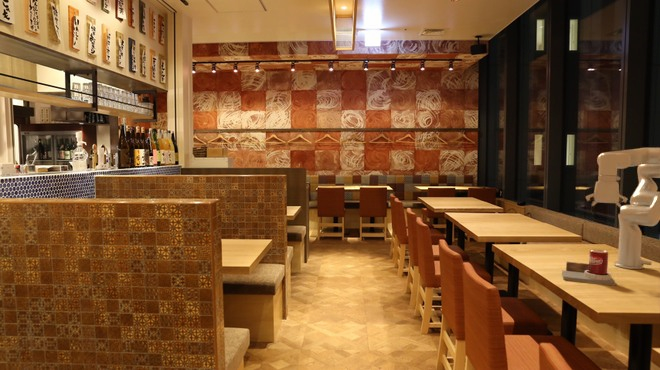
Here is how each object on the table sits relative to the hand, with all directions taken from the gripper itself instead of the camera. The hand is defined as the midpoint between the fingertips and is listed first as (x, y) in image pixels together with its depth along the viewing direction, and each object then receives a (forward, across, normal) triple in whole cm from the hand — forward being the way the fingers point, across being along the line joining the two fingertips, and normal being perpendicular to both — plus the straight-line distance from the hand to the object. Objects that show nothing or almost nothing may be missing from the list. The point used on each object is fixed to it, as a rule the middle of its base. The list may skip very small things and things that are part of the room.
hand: (605, 214), depth 219 cm
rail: (+28, +8, +7) cm, 30 cm away
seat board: (+28, +8, +17) cm, 34 cm away
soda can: (+27, +4, +17) cm, 32 cm away
